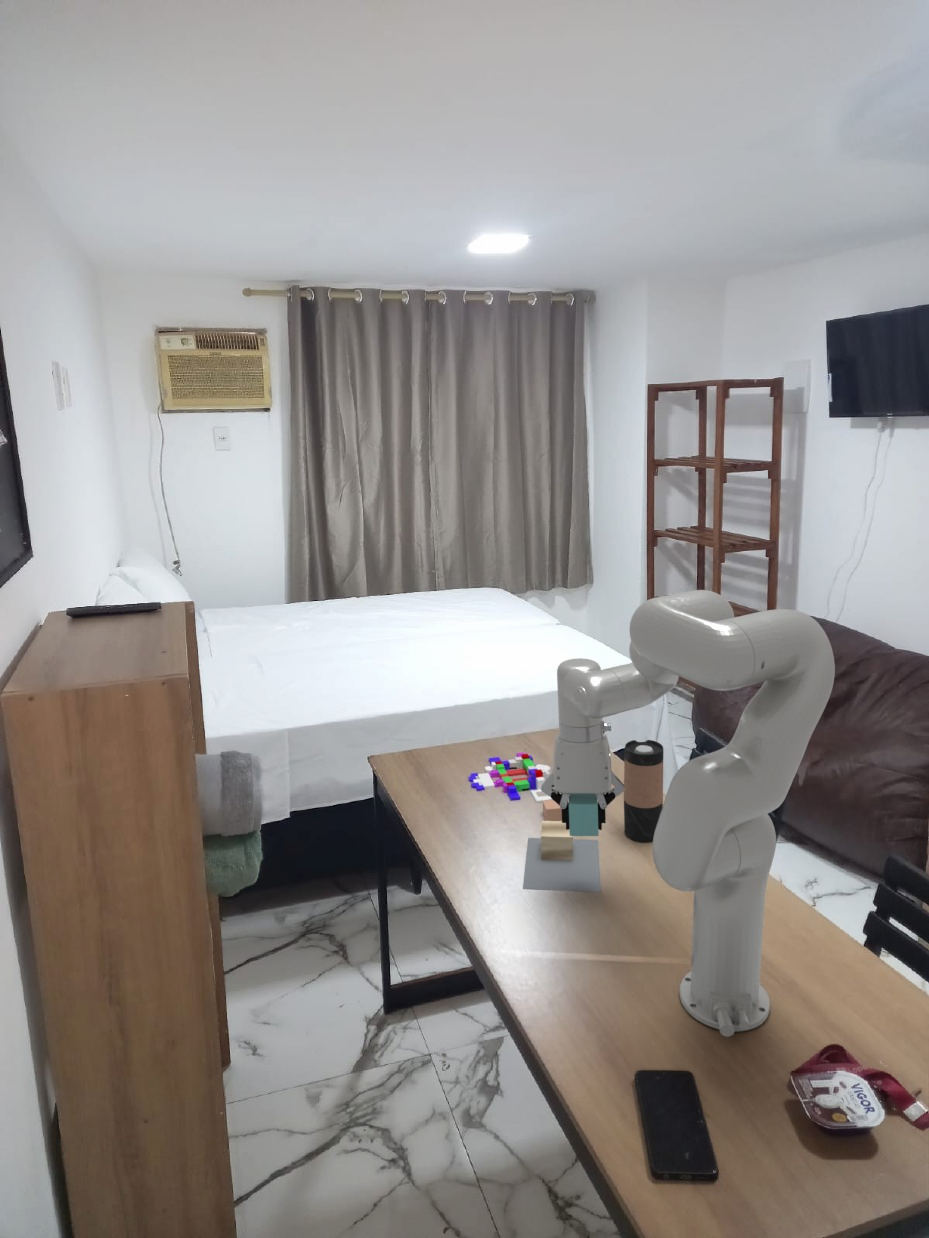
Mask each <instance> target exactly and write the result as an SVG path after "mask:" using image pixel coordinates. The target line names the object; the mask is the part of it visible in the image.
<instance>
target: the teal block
mask: <svg viewBox="0 0 929 1238" xmlns="http://www.w3.org/2000/svg"><path fill="white" fill-rule="evenodd" d="M568 803H569V827H570V836H573V837H599V835H600V834H599V829H598V799H597V796H596V794H570V795H569V799H568Z"/></svg>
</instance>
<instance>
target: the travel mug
mask: <svg viewBox="0 0 929 1238" xmlns="http://www.w3.org/2000/svg"><path fill="white" fill-rule="evenodd" d="M623 766H624V767H623V768H624V770H623V784H624V786H625V791H624V792H623V816H624V817H623V821H624V824H623V825H624V836H625V837H626V838H627V839H629V840H630V841H633V842H636V843H640V844H650V843H653V838H654V833H655V829H656V826H657V823H658V820H659V816H660V813H661V810H662V807H663V804H664V746H663V745H662V743H660V742H658V741H657V740H656V741H655V740H651V739H647V740H645V741H637V740H636V739H632V740H630V741H627V742H626V743H625V745H624V762H623Z"/></svg>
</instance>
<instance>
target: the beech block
mask: <svg viewBox="0 0 929 1238" xmlns="http://www.w3.org/2000/svg"><path fill="white" fill-rule="evenodd" d="M540 838H541V860H568V861H573V839H574V836H570V829H569V830H566V823H562V821H546V820H541V833H540Z"/></svg>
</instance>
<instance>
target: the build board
mask: <svg viewBox="0 0 929 1238" xmlns="http://www.w3.org/2000/svg"><path fill="white" fill-rule="evenodd" d="M599 852H600V850H599V840H598V839H582V838H573V861H568V860H541V837H528V838H527V846H526V855H525V864H524V874H523V883H522V884H523V885H522V890H538V891H560V892H561V891H564V892H585V893H586V892H589V893H602V887H601V885H602V884H601V869H600V868H601V867H600V866H601V865H600V853H599Z"/></svg>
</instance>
